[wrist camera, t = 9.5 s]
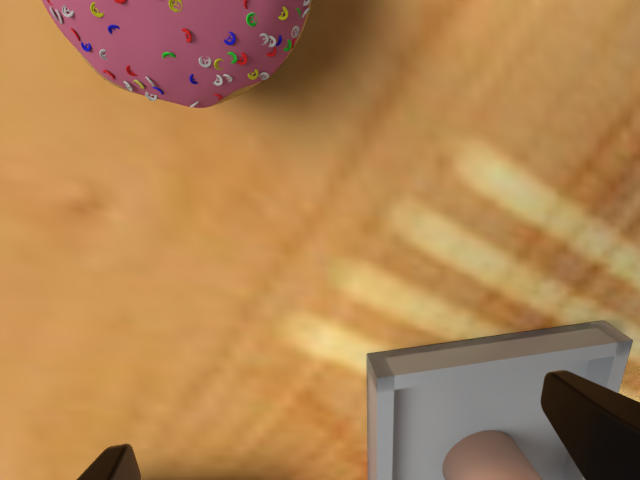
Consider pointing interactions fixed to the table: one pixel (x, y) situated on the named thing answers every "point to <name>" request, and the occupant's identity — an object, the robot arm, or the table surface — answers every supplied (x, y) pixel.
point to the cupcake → (182, 43)
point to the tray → (480, 396)
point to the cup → (487, 459)
